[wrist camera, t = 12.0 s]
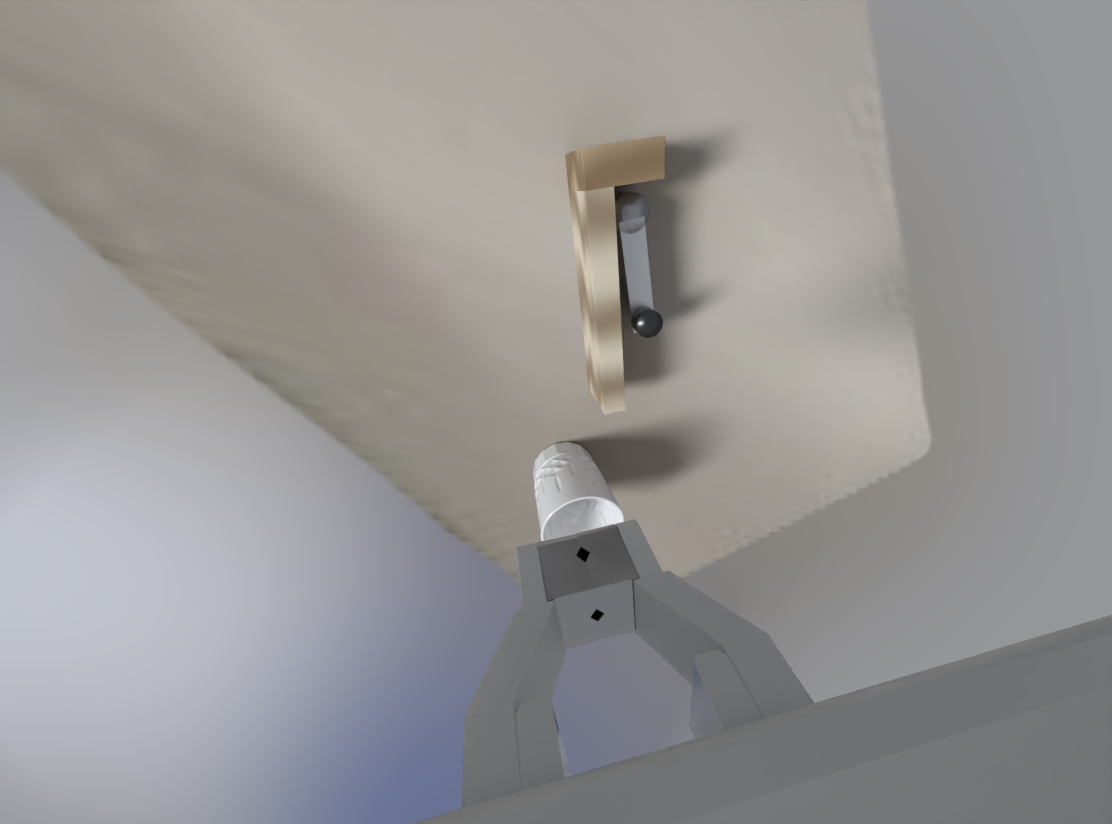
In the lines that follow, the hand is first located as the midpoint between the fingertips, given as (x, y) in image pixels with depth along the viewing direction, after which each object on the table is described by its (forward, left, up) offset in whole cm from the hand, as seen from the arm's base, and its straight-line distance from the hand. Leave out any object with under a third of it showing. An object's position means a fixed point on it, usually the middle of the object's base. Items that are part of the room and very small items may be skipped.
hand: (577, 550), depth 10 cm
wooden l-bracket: (+1, +10, -29) cm, 31 cm away
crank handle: (-1, +11, -29) cm, 31 cm away
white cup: (+20, +3, -29) cm, 36 cm away
